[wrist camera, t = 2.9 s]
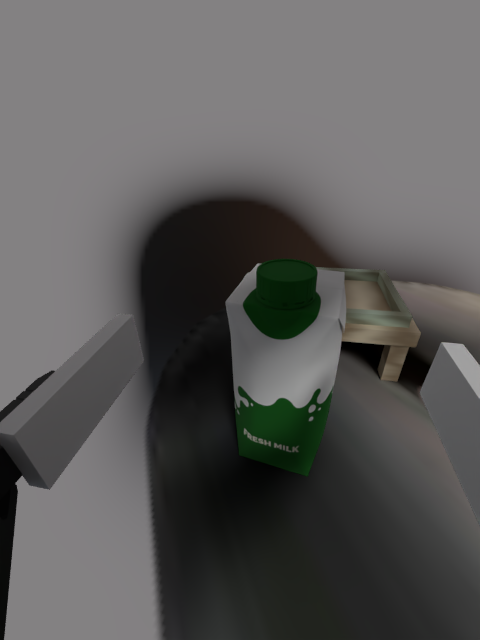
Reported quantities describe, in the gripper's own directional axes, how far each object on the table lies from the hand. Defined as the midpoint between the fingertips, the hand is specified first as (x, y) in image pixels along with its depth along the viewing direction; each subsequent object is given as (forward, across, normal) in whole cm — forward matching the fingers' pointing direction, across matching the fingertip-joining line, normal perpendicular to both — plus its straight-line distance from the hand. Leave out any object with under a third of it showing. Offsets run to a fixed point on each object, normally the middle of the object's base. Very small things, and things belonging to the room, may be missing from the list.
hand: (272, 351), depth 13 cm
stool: (+28, +8, -19) cm, 35 cm away
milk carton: (+10, +1, -19) cm, 22 cm away
